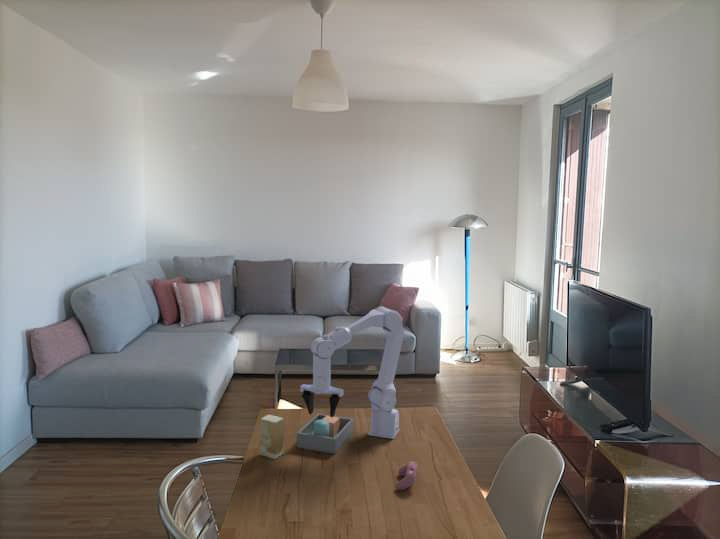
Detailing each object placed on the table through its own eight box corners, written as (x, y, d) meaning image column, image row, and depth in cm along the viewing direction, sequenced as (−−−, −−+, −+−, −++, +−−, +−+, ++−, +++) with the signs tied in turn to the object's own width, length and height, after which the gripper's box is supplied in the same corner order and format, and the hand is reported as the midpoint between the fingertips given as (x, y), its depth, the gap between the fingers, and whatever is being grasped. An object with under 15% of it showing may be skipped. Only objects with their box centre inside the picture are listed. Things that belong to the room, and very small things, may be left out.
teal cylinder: (328, 439, 186) (328, 419, 185) (329, 445, 181) (329, 425, 180) (313, 439, 186) (313, 419, 185) (313, 446, 181) (313, 425, 180)
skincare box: (259, 455, 176) (259, 418, 174) (268, 449, 179) (267, 413, 178) (276, 459, 173) (276, 422, 171) (284, 454, 176) (284, 417, 175)
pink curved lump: (408, 497, 155) (419, 477, 153) (393, 489, 155) (405, 469, 154) (410, 480, 164) (421, 461, 163) (397, 472, 165) (408, 453, 163)
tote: (353, 432, 193) (353, 418, 193) (335, 454, 177) (335, 439, 176) (317, 427, 198) (317, 413, 197) (296, 447, 181) (296, 433, 181)
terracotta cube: (339, 431, 192) (339, 417, 192) (333, 437, 187) (333, 423, 187) (326, 429, 194) (326, 415, 193) (320, 435, 189) (320, 421, 189)
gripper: (296, 375, 179) (296, 416, 181) (338, 381, 175) (337, 422, 176) (305, 369, 186) (305, 408, 187) (345, 374, 181) (345, 414, 183)
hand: (321, 414), depth 182 cm, fingers open, 7 cm apart
